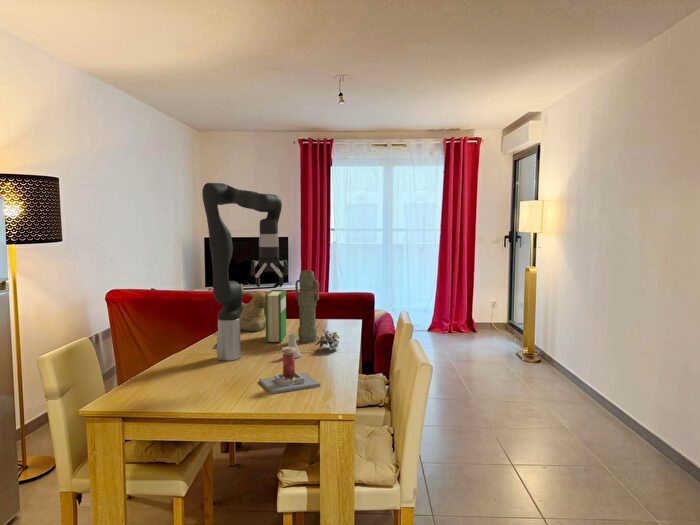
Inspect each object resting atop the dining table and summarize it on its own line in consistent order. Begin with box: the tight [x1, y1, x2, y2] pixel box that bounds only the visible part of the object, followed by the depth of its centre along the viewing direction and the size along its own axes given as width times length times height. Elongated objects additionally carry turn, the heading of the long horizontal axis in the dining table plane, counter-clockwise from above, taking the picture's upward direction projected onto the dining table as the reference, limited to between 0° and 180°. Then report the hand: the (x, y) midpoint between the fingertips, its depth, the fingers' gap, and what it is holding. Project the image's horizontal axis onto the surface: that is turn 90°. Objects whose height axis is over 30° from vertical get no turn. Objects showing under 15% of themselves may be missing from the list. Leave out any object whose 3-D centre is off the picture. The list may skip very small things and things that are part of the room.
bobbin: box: [281, 346, 296, 383], centre depth 178 cm, size 5×5×12 cm
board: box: [258, 371, 321, 395], centre depth 178 cm, size 18×15×3 cm
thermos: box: [294, 269, 320, 344], centre depth 244 cm, size 9×12×35 cm
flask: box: [286, 333, 302, 359], centre depth 215 cm, size 7×7×10 cm
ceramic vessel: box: [239, 283, 267, 332], centre depth 273 cm, size 17×20×25 cm
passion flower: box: [315, 328, 340, 352], centre depth 227 cm, size 11×11×12 cm
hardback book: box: [264, 289, 287, 344], centre depth 248 cm, size 18×7×24 cm, turn 179°
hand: (269, 286), depth 194 cm, fingers open, 8 cm apart
